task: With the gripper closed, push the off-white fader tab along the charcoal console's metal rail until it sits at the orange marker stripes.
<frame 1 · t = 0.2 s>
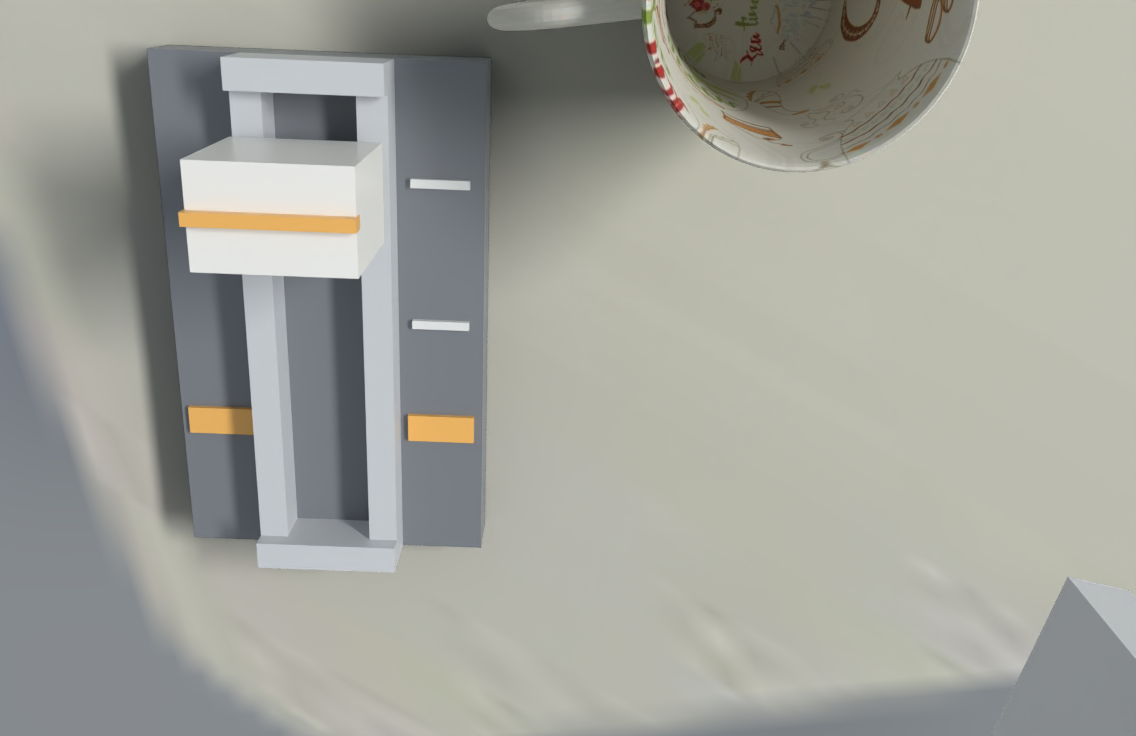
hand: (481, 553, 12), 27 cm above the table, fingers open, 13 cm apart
console: (340, 303, 39), on the table
fader tab: (295, 200, 32), point 6 cm above the table, slide at 0.0 cm
mug: (684, 4, 35), on the table
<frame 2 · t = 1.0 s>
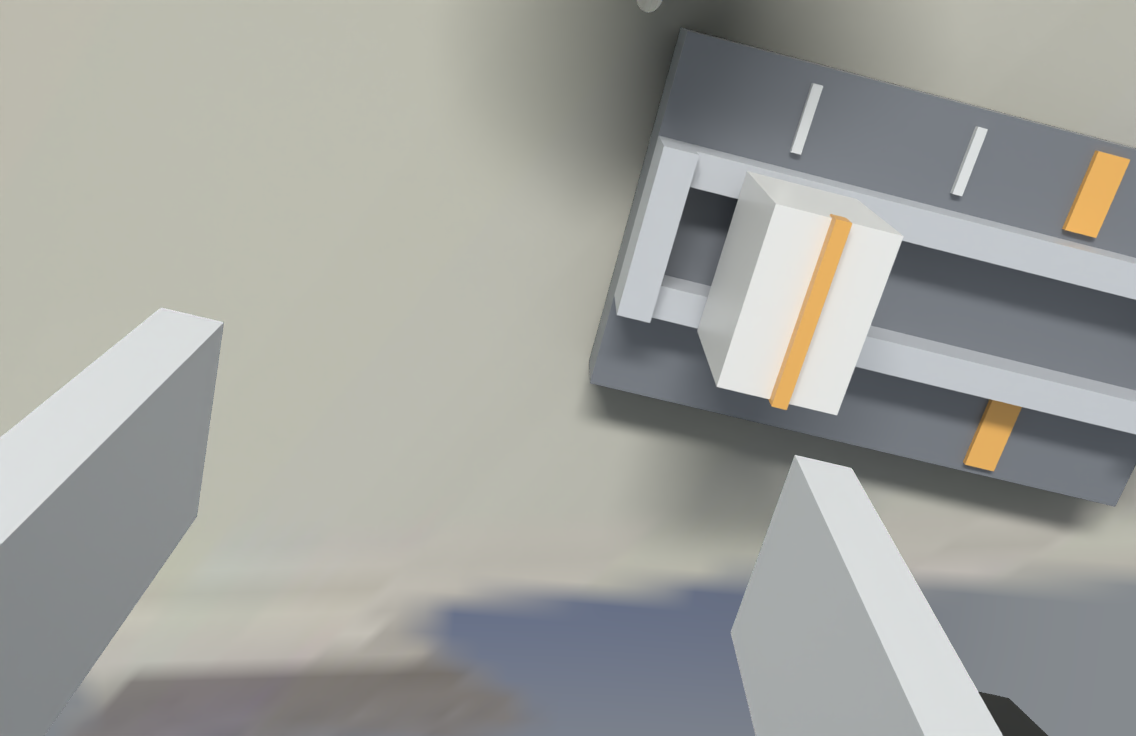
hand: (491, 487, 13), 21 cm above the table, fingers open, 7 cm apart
console: (899, 270, 34), on the table
fader tab: (785, 281, 28), point 6 cm above the table, slide at 0.0 cm
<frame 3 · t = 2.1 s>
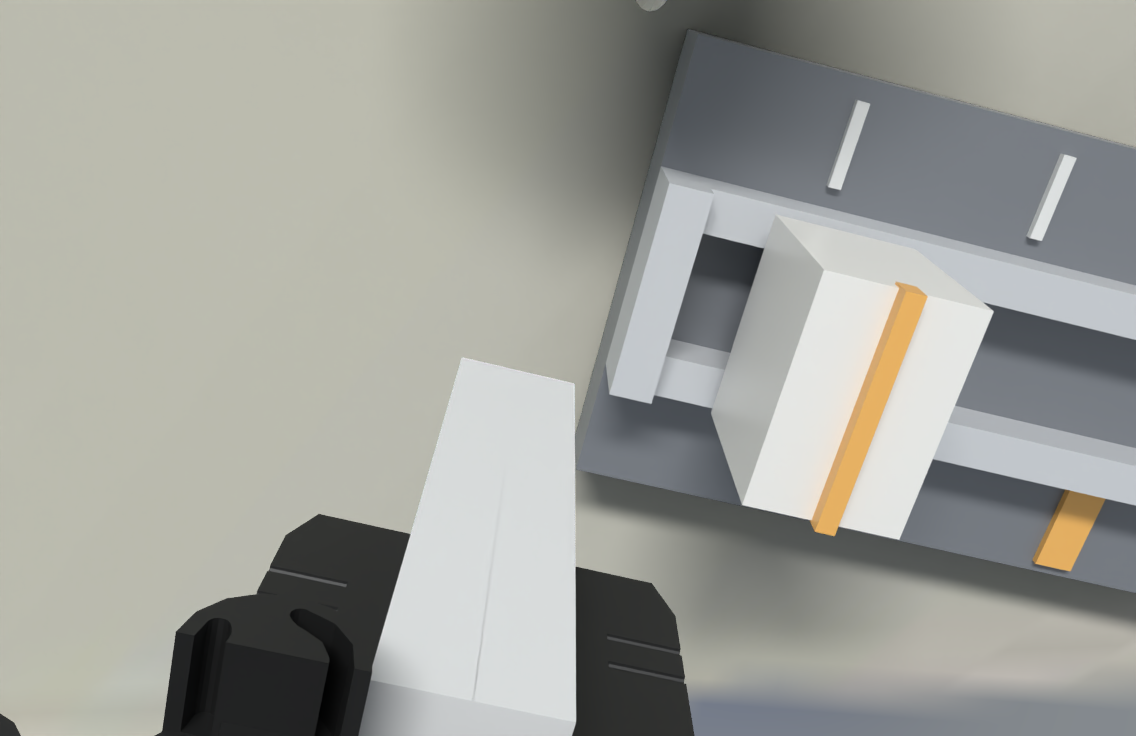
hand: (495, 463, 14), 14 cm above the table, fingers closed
console: (955, 326, 28), on the table
fader tab: (826, 358, 22), point 6 cm above the table, slide at 0.0 cm
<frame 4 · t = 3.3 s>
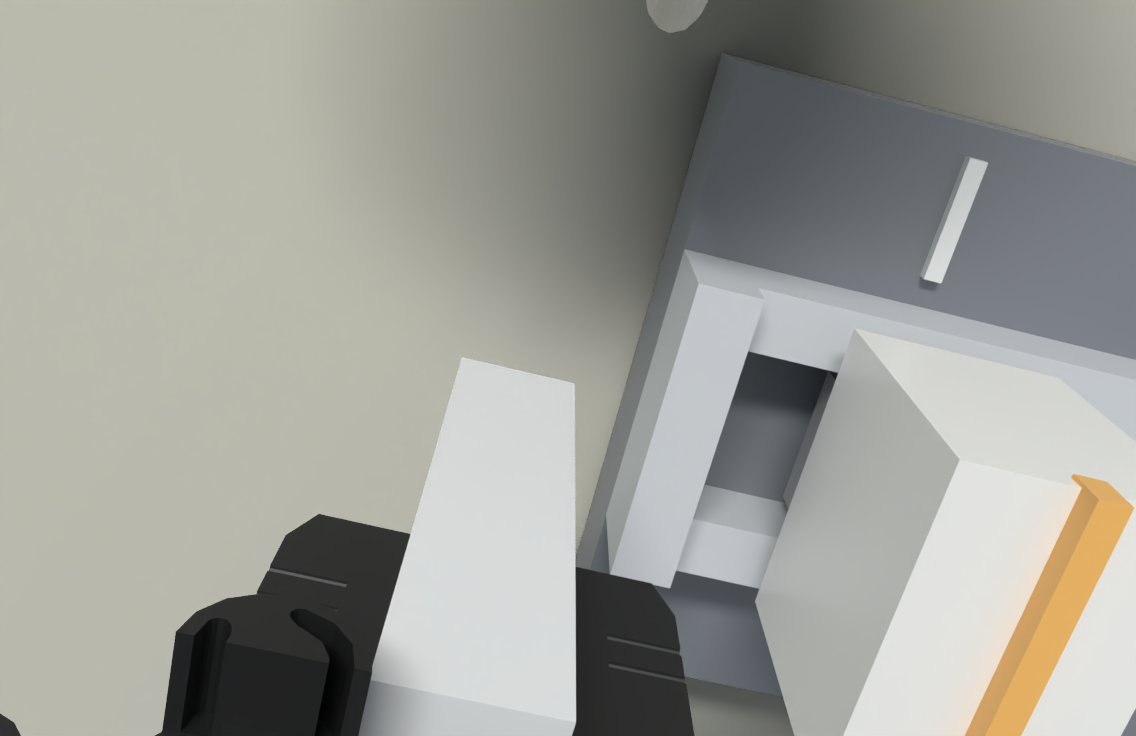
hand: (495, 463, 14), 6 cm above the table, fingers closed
console: (1081, 454, 20), on the table
fader tab: (933, 546, 15), point 6 cm above the table, slide at 0.0 cm
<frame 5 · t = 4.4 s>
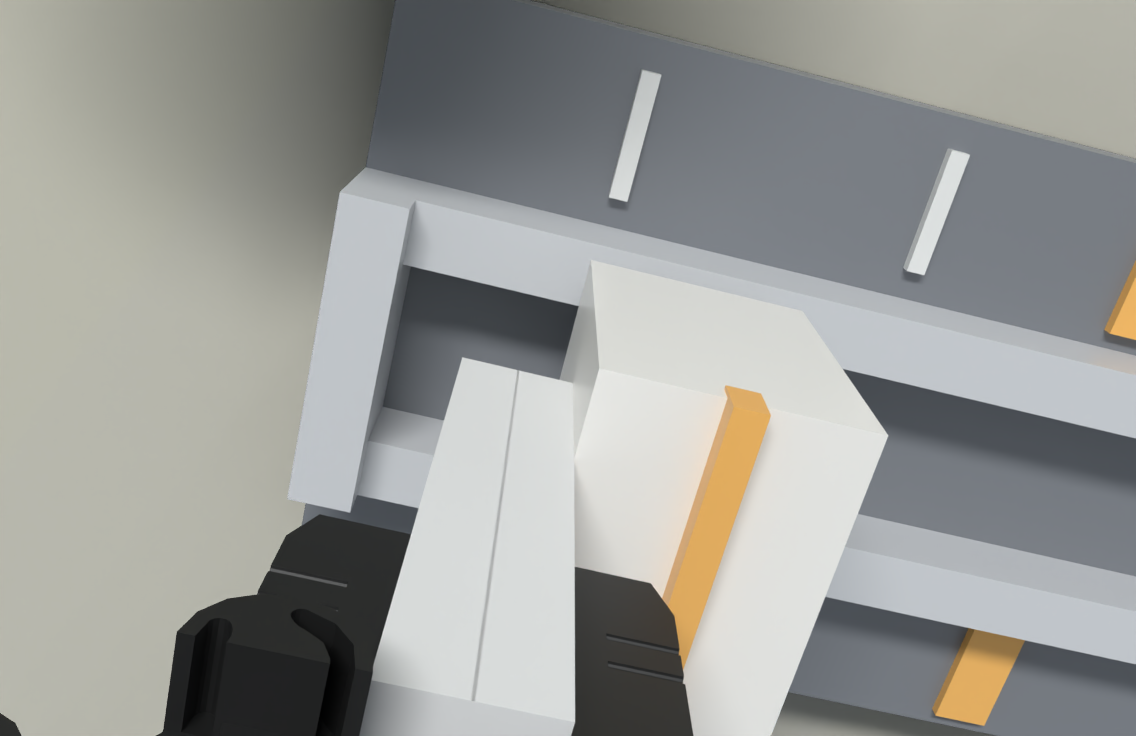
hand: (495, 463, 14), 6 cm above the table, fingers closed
console: (824, 388, 20), on the table
fader tab: (661, 478, 15), point 6 cm above the table, slide at 1.3 cm, touching gripper
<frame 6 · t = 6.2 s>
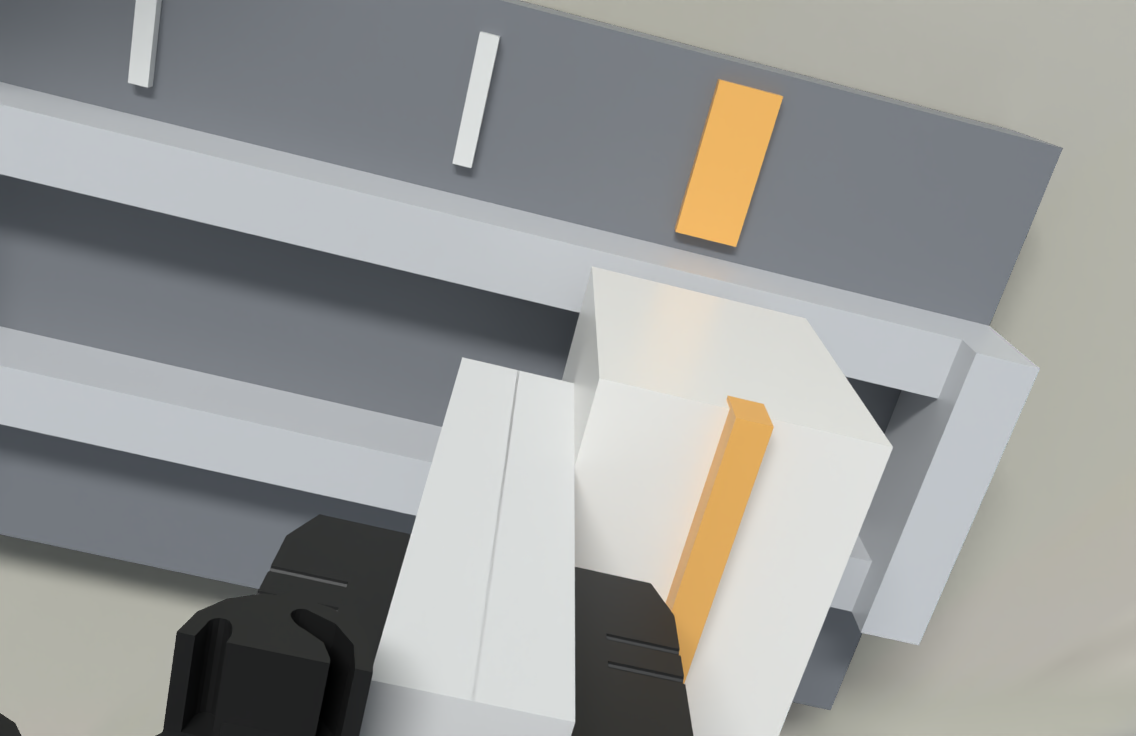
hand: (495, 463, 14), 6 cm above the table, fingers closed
console: (440, 303, 19), on the table
fader tab: (663, 488, 14), point 6 cm above the table, slide at 8.8 cm, touching gripper
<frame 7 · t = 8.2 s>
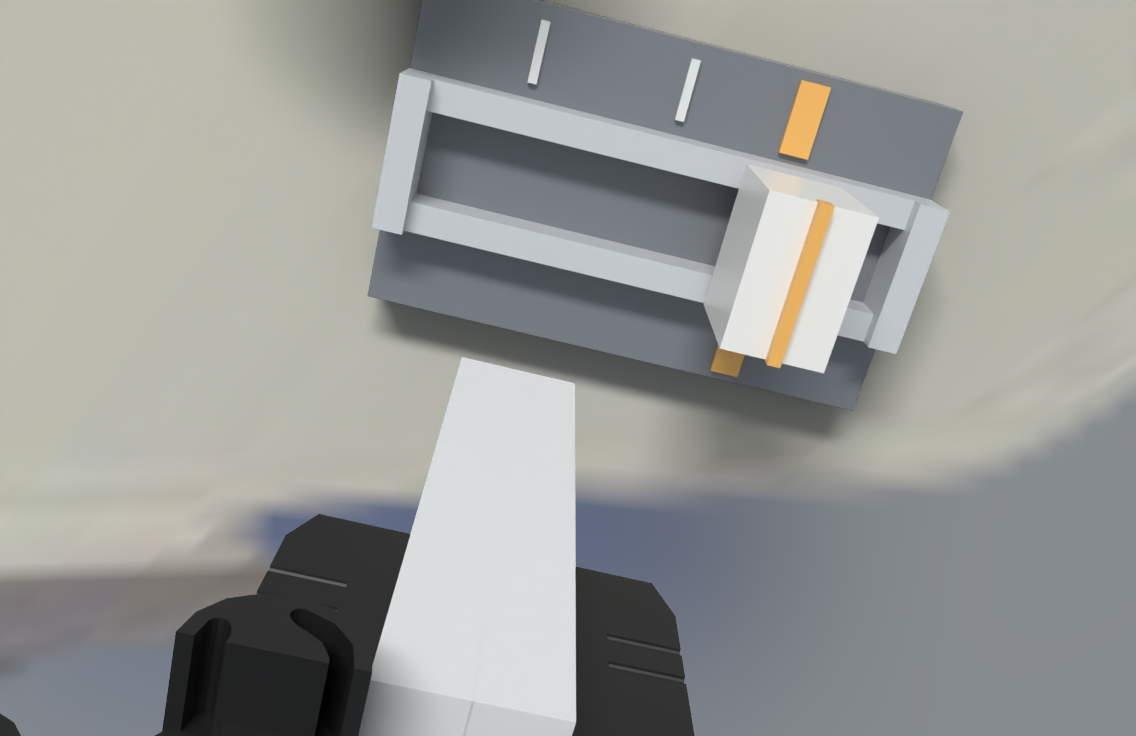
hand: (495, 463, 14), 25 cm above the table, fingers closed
console: (651, 195, 37), on the table
fader tab: (780, 259, 33), point 6 cm above the table, slide at 8.8 cm
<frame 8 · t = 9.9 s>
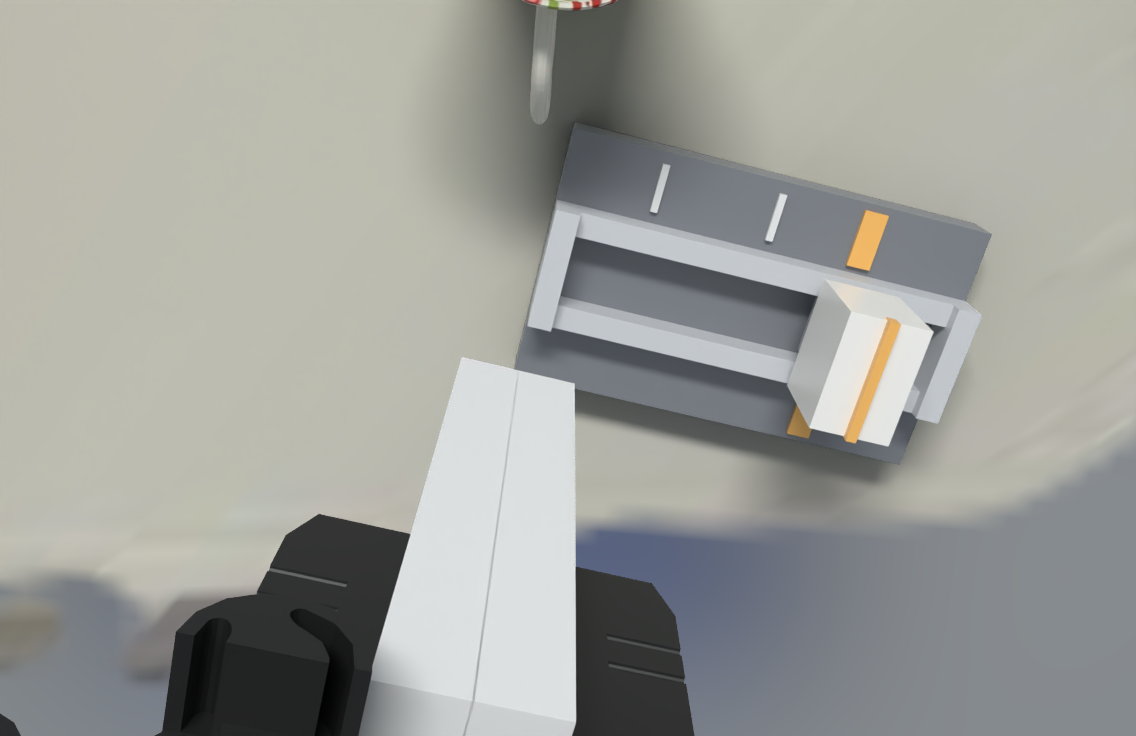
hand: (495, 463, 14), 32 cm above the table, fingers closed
console: (739, 292, 47), on the table
fader tab: (851, 354, 42), point 6 cm above the table, slide at 8.8 cm
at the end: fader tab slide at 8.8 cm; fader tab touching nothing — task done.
